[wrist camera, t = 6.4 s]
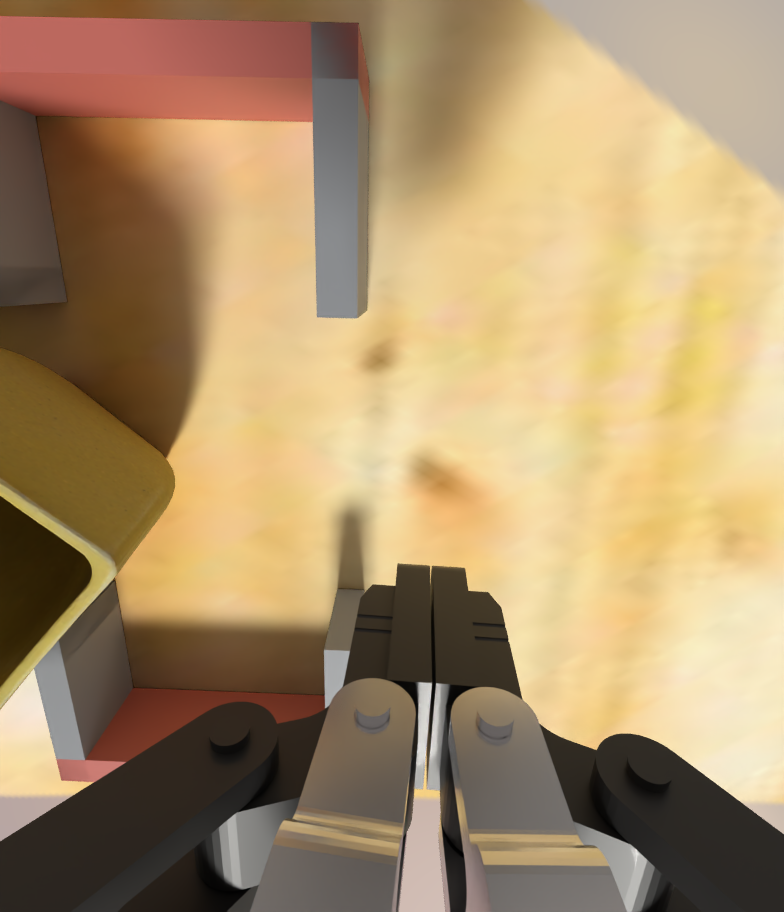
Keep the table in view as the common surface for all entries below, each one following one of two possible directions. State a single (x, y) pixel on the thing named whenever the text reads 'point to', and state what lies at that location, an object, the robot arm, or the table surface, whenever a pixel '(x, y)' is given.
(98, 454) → the flower pot
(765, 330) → the table surface
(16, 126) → the box
